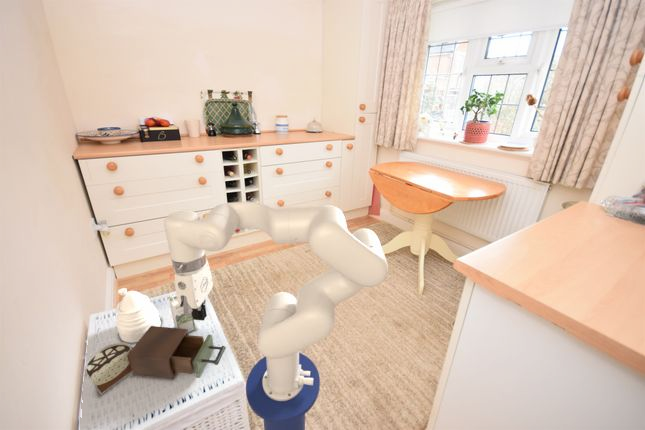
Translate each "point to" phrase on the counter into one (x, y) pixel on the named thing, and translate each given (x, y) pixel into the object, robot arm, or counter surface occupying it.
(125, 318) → the honey pot
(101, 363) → the mint chocolate cake slice
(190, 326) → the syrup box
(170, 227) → the robot arm
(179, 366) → the drawer
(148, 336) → the cabinet
